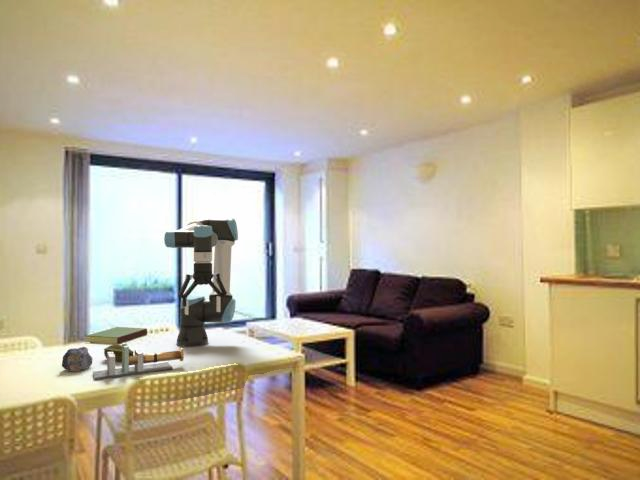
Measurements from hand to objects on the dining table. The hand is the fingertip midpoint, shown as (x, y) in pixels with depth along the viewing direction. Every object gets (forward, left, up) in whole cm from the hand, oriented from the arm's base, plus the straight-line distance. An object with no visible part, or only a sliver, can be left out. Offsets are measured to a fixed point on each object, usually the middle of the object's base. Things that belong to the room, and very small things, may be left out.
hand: (202, 313), depth 192 cm
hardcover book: (-72, -25, -22) cm, 80 cm away
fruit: (-23, -30, -22) cm, 44 cm away
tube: (-1, -19, -19) cm, 27 cm away
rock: (-16, -46, -22) cm, 53 cm away
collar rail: (-1, -27, -21) cm, 34 cm away
